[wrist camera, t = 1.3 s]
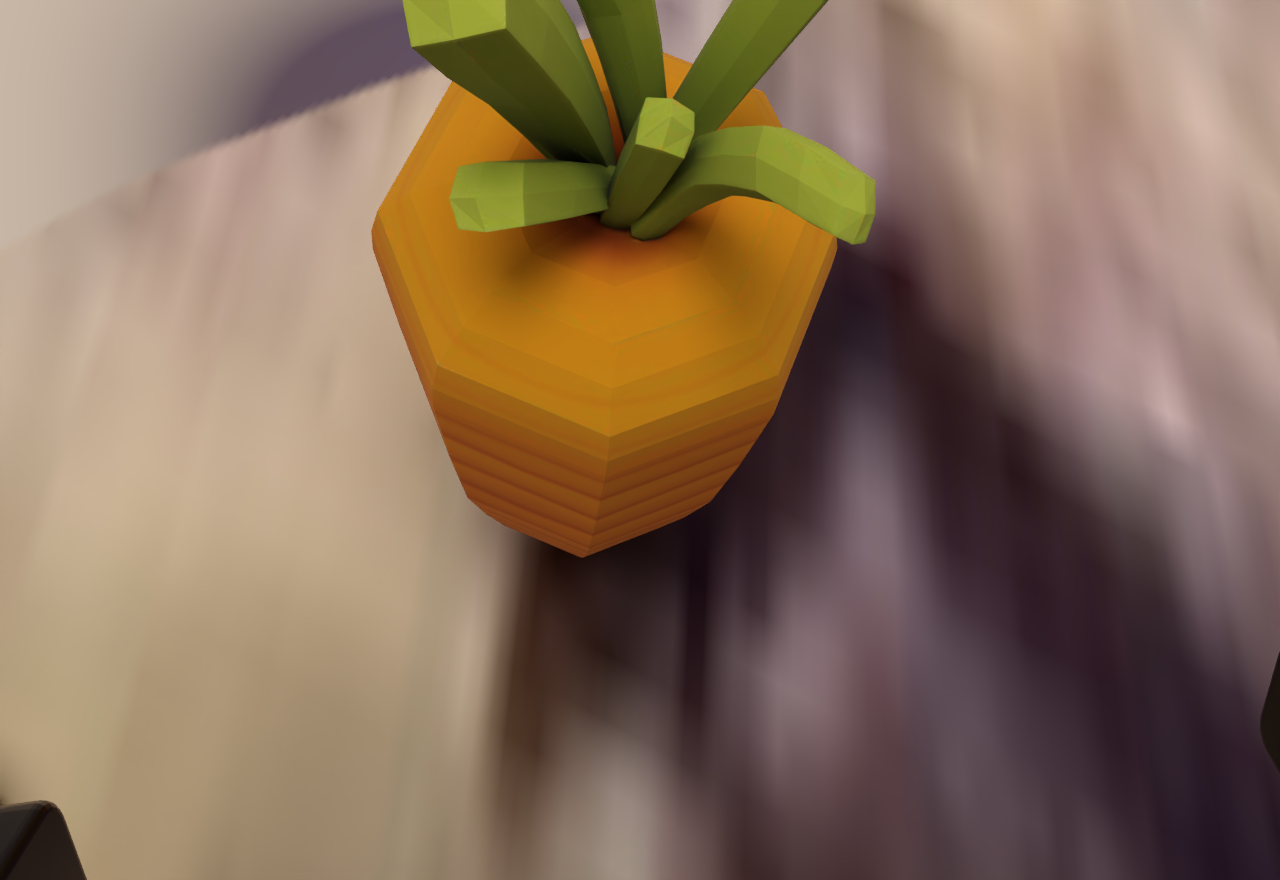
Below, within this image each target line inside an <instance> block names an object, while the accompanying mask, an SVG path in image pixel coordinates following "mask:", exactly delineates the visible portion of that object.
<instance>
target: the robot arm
mask: <svg viewBox="0 0 1280 880" xmlns="http://www.w3.org/2000/svg"><path fill="white" fill-rule="evenodd" d="M1260 730H1261V736H1262V740H1263V743H1264V745H1265V748H1266V750H1267V752H1268V754H1269V756H1270V758H1271V759H1272V761H1273V763H1274V765H1275V766H1276V768H1277V770H1278V771H1279V773H1280V652H1279V655H1278V658H1277V662H1276V665H1275V669H1274V672H1273V676H1272V679H1271V683H1270V686H1269V690H1268V693H1267V696H1266V700H1265V703H1264V707H1263V710H1262V714H1261V719H1260ZM0 880H87V879H86V876H85V873H84V871H83V868H82V865H81V862H80V860H79V857H78V854H77V851H76V849H75V846H74V843H73V840H72V838H71V835H70V832H69V830H68V827H67V824H66V821H65V819H64V816H63V814H62V813H61V811H60V809H59V808H58V807H57V806H56V805H55V804H54V803H52V802H49V801H42V800H41V801H33V802H25V803H18V804H10V805H2V806H0Z"/></svg>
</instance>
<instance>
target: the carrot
mask: <svg viewBox="0 0 1280 880" xmlns="http://www.w3.org/2000/svg"><path fill="white" fill-rule="evenodd" d="M827 1H828V0H733V1H732V2H731V4H730V6H729V7H728V9H727V10H726V12H725V13H724V15H723V17H722V18H721V20H720V21H719V23H718V25H717V26H716V28H715V29H714V31H713V33H712V34H711V36H710V37H709V39H708V40H707V42H706V44H705V45H704V47H703V49H702V50H701V52H700V54H699V55H698V57H697V59H696V60H695V62H694V63H693V64H692V63H689V62H687V61H684V60H682V59H679V58H676V57H674V56H671V55H669V54H666V53H664V52H663V51H662V41H661V35H660V29H659V23H658V17H657V11H656V5H655V0H577V2H578V4H579V7H580V9H581V12H582V15H583V17H584V20H585V22H586V25H587V28H588V30H589V33H590V35H591V38H588V39H584V40H581V39H580V37H579V34H578V32H577V30H576V27H575V25H574V23H573V21H572V20H571V18H570V16H569V15H568V13H567V11H566V10H565V8H564V6H563V5H562V3H561V2H560V0H403V5H404V10H405V16H406V21H407V26H408V31H409V37H410V42H411V47H412V48H413V49H414V50H416V51H417V52H418V53H419V54H420V55H421V56H423V57H424V58H425V59H426V60H427V61H428V62H430V63H431V64H432V65H433V66H434V67H435V68H437V69H438V70H439V71H440V72H441V73H443V74H444V75H445V76H446V77H447V78H449V79H450V80H452V83H451V84H450V86H449V88H448V90H447V91H446V93H445V95H444V97H443V98H442V100H441V102H440V103H439V105H438V107H437V109H436V110H435V112H434V114H433V116H432V117H431V119H430V121H429V123H428V124H427V126H426V128H425V130H424V131H423V133H422V135H421V136H420V138H419V140H418V142H417V143H416V145H415V147H414V149H413V150H412V152H411V154H410V156H409V157H408V159H407V161H406V163H405V164H404V166H403V168H402V170H401V171H400V173H399V175H398V176H397V178H396V180H395V182H394V183H393V185H392V187H391V189H390V190H389V192H388V194H387V196H386V197H385V199H384V201H383V203H382V204H381V206H380V208H379V209H378V211H377V215H376V218H375V221H374V224H373V227H372V230H371V231H372V243H373V250H374V253H375V256H376V259H377V262H378V265H379V268H380V271H381V273H382V276H383V279H384V282H385V285H386V288H387V291H388V294H389V296H390V299H391V302H392V305H393V308H394V311H395V314H396V317H397V319H398V322H399V325H400V328H401V330H402V333H403V336H404V338H405V341H406V343H407V346H408V349H409V351H410V354H411V356H412V359H413V362H414V364H415V367H416V370H417V372H418V375H419V377H420V380H421V383H422V385H423V388H424V390H425V393H426V396H427V398H428V401H429V404H430V406H431V409H432V411H433V414H434V417H435V419H436V422H437V424H438V427H439V430H440V432H441V435H442V438H443V440H444V443H445V445H446V448H447V451H448V453H449V456H450V458H451V461H452V463H453V465H454V468H455V470H456V472H457V474H458V477H459V479H460V481H461V484H462V486H463V488H464V490H465V493H466V495H467V497H468V498H469V499H470V500H471V501H472V502H473V503H475V504H476V505H477V506H478V507H479V508H480V509H481V510H482V511H483V512H485V513H486V514H487V515H489V516H490V517H492V518H494V519H495V520H497V521H498V522H500V523H502V524H503V525H505V526H507V527H510V528H512V529H515V530H517V531H519V532H522V533H524V534H526V535H529V536H531V537H533V538H536V539H538V540H541V541H543V542H545V543H548V544H550V545H552V546H555V547H557V548H560V549H562V550H564V551H567V552H569V553H571V554H574V555H576V556H578V557H581V558H583V557H586V556H588V555H591V554H594V553H596V552H599V551H601V550H604V549H606V548H609V547H611V546H614V545H617V544H619V543H622V542H624V541H627V540H629V539H632V538H635V537H637V536H640V535H642V534H645V533H647V532H650V531H653V530H655V529H658V528H660V527H663V526H665V525H667V524H670V523H672V522H674V521H677V520H679V519H682V518H684V517H686V516H687V515H689V514H691V513H692V512H694V511H696V510H697V509H699V508H701V507H702V506H704V505H706V504H707V503H709V502H710V501H711V500H712V499H713V498H714V496H715V495H716V494H717V493H718V491H719V490H720V489H721V488H722V486H723V485H724V484H725V483H726V481H727V480H728V479H729V478H730V476H731V475H732V474H733V473H734V471H735V470H736V469H737V468H738V466H739V465H740V464H741V462H742V461H743V459H744V458H745V456H746V455H747V453H748V452H749V450H750V449H751V447H752V446H753V444H754V443H755V441H756V440H757V438H758V437H759V435H760V434H761V432H762V431H763V429H764V428H765V426H766V425H767V423H768V422H769V420H770V419H771V417H772V416H773V414H774V412H775V409H776V407H777V404H778V401H779V399H780V396H781V394H782V391H783V389H784V386H785V384H786V381H787V378H788V376H789V373H790V371H791V368H792V366H793V363H794V361H795V358H796V356H797V353H798V350H799V348H800V345H801V343H802V340H803V338H804V335H805V333H806V330H807V327H808V325H809V322H810V320H811V317H812V315H813V312H814V310H815V307H816V305H817V302H818V299H819V297H820V294H821V292H822V289H823V287H824V284H825V282H826V279H827V276H828V274H829V271H830V269H831V266H832V263H833V260H834V257H835V254H836V251H837V239H836V237H838V238H840V239H842V240H844V241H847V242H849V243H851V244H859V243H865V242H866V239H867V236H868V234H869V231H870V228H871V225H872V222H873V219H874V216H875V196H876V181H875V180H873V179H872V178H871V177H869V176H868V175H866V174H865V173H863V172H862V171H860V170H859V169H857V168H856V167H855V166H853V165H852V164H850V163H849V162H847V161H846V160H844V159H843V158H842V157H840V156H839V155H837V154H836V153H834V152H833V151H832V150H830V149H829V148H827V147H825V146H823V145H821V144H819V143H816V142H814V141H812V140H810V139H808V138H806V137H804V136H801V135H799V134H797V133H795V132H793V131H791V130H789V129H787V128H782V126H781V124H780V122H779V120H778V118H777V116H776V114H775V112H774V110H773V109H772V107H771V105H770V103H769V101H768V99H767V97H766V95H765V93H764V92H762V91H760V90H757V89H755V88H753V87H754V86H755V85H756V83H757V82H758V81H759V80H760V79H761V78H762V76H763V75H764V74H765V73H766V72H767V71H768V69H769V68H770V67H771V66H772V65H773V64H774V63H775V61H776V60H777V59H778V58H779V57H780V56H781V54H782V53H783V52H784V51H785V50H786V49H787V48H788V46H789V45H790V44H791V43H792V42H793V41H794V39H795V38H796V37H797V36H798V35H799V34H800V33H801V31H802V30H803V29H804V28H805V27H806V26H807V24H808V23H809V22H810V21H811V20H812V19H813V18H814V16H815V15H816V14H817V13H818V12H819V11H820V9H821V8H822V7H823V6H824V5H825V4H826V3H827Z"/></svg>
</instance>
